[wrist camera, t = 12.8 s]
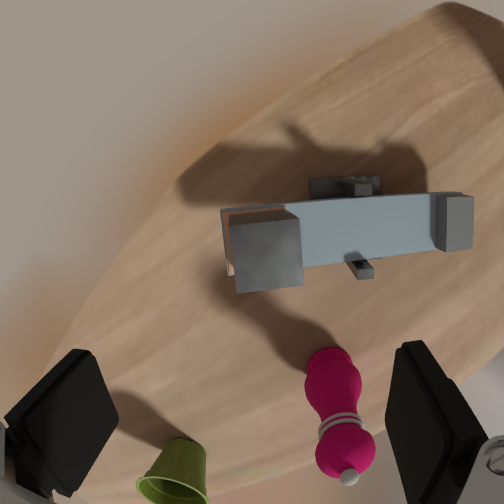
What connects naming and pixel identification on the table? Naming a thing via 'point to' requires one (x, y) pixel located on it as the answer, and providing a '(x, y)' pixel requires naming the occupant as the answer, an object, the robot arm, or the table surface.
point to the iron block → (266, 250)
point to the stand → (348, 188)
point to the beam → (372, 225)
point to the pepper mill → (338, 415)
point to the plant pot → (176, 475)
